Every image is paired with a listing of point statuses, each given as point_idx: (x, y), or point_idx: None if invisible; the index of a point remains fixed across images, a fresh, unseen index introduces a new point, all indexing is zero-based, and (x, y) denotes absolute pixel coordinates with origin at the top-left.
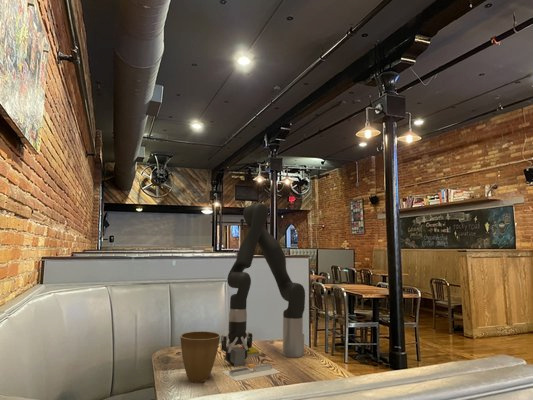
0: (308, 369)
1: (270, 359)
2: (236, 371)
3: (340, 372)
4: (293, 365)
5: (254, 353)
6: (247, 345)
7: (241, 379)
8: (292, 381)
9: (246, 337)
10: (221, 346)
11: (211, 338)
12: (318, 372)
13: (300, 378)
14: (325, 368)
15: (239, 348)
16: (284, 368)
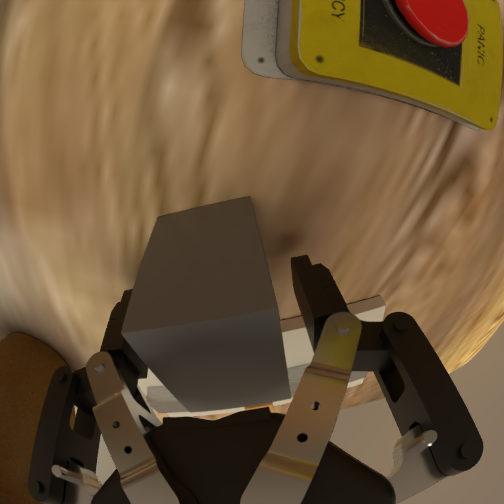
0: (459, 334)
1: (480, 186)
2: (176, 411)
3: (475, 351)
4: (469, 296)
5: (460, 119)
6: (373, 362)
7: (190, 415)
8: (345, 404)
9: (401, 444)
10: (47, 400)
11: (22, 491)
12: (451, 354)
13: (380, 389)
14: (485, 328)
15: (256, 371)
16: (423, 324)
